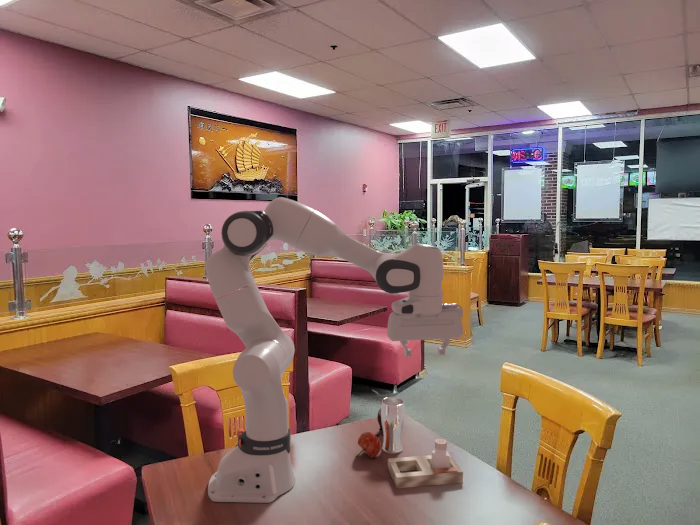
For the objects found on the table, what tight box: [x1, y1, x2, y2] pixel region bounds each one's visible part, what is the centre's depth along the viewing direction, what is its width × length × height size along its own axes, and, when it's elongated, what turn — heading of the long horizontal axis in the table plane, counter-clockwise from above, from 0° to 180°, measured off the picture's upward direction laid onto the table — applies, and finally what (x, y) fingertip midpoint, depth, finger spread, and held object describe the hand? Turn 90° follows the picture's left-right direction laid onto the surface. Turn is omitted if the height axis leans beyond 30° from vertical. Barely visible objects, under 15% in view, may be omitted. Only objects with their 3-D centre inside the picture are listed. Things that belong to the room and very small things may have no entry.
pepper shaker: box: [431, 438, 451, 470], centre depth 140 cm, size 4×4×10 cm
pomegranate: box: [355, 431, 382, 459], centre depth 151 cm, size 7×7×10 cm
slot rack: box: [387, 453, 464, 489], centre depth 140 cm, size 18×10×3 cm, turn 99°
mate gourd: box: [371, 389, 384, 437], centre depth 165 cm, size 8×8×15 cm
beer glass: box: [380, 396, 405, 455], centre depth 154 cm, size 7×7×15 cm
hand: (424, 355), depth 138 cm, fingers open, 8 cm apart
